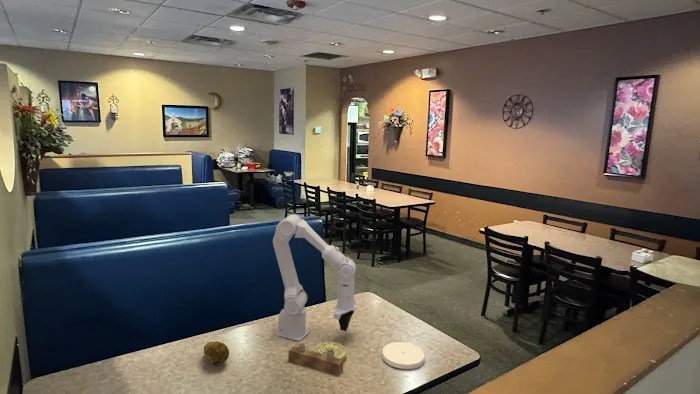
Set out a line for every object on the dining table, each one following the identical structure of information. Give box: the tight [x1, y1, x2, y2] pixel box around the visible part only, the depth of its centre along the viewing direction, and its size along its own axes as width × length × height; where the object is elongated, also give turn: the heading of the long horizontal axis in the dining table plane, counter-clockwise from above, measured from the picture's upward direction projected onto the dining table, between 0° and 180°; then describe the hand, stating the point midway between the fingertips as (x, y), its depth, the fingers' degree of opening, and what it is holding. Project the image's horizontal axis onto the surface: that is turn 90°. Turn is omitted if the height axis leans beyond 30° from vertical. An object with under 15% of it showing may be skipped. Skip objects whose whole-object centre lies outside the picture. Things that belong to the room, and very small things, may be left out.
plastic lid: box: [381, 341, 425, 370], centre depth 139 cm, size 14×14×2 cm
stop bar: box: [287, 343, 344, 377], centre depth 133 cm, size 18×3×6 cm, turn 67°
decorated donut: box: [313, 341, 348, 363], centre depth 138 cm, size 10×11×4 cm
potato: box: [203, 341, 230, 366], centre depth 133 cm, size 8×13×8 cm, turn 12°
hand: (343, 329), depth 150 cm, fingers closed
